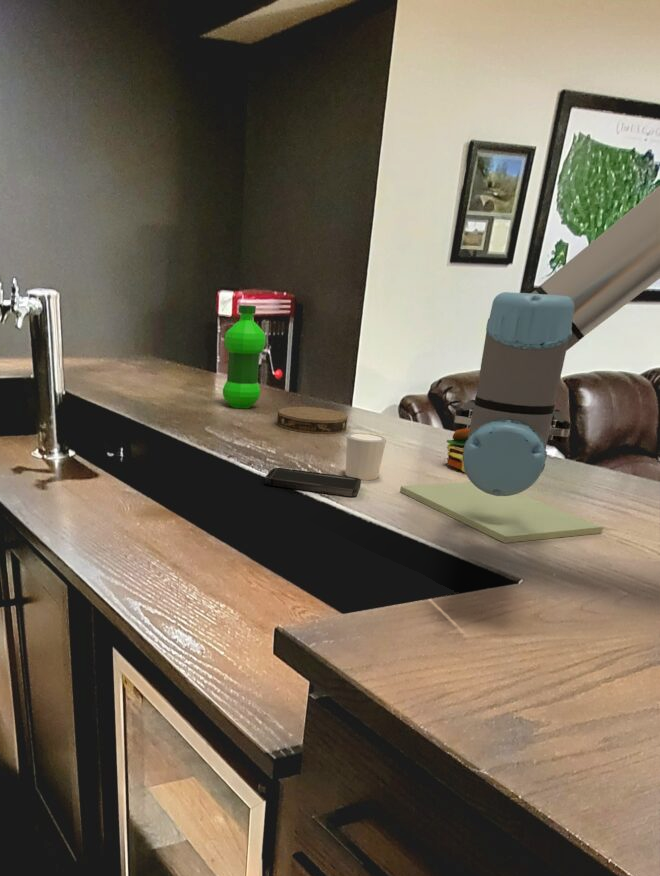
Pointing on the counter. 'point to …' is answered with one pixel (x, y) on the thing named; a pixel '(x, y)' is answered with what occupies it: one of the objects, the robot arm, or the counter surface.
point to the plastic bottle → (243, 359)
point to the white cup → (364, 455)
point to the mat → (501, 512)
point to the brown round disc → (312, 420)
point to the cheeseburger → (457, 448)
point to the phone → (313, 481)
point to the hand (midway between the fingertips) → (514, 406)
